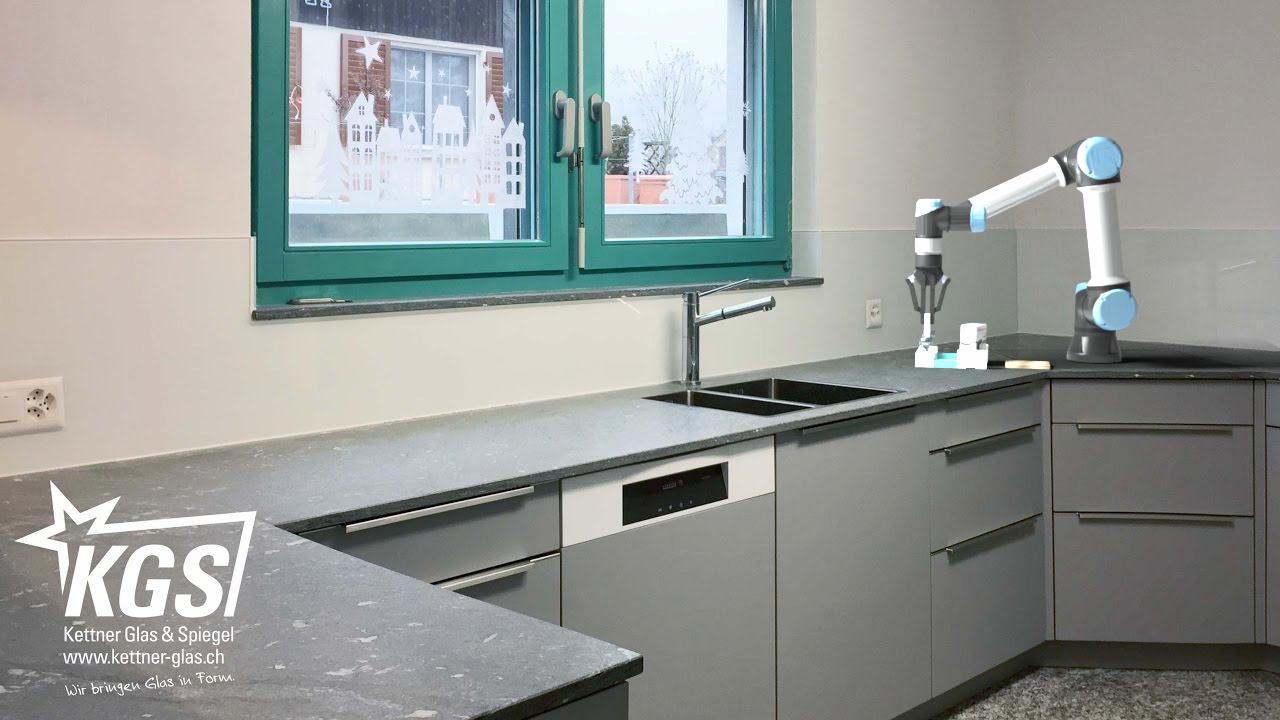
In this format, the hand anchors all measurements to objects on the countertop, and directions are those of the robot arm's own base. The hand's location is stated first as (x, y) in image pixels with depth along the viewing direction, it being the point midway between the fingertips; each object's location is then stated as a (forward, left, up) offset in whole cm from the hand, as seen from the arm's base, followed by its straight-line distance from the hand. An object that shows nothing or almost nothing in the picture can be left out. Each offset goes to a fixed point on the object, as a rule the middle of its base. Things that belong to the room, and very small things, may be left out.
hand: (927, 335), depth 347 cm
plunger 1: (0, -9, -7) cm, 11 cm away
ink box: (-13, -4, -9) cm, 16 cm away
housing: (-7, -4, -8) cm, 12 cm away
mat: (-28, -4, -9) cm, 29 cm away
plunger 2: (0, +1, -8) cm, 8 cm away
